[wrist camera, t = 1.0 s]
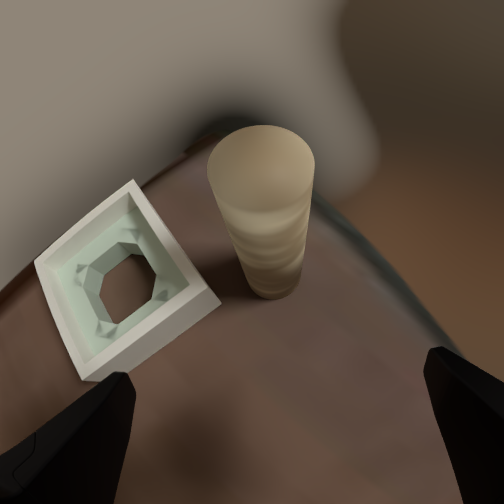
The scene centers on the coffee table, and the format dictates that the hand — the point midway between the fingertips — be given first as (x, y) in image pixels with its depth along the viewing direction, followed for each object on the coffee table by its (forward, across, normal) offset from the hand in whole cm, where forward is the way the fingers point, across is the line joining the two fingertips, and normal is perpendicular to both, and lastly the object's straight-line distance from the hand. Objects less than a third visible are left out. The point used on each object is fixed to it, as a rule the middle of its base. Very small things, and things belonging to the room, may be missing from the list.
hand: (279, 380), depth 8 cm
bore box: (+14, +11, +4) cm, 19 cm away
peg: (+15, 0, +4) cm, 15 cm away
